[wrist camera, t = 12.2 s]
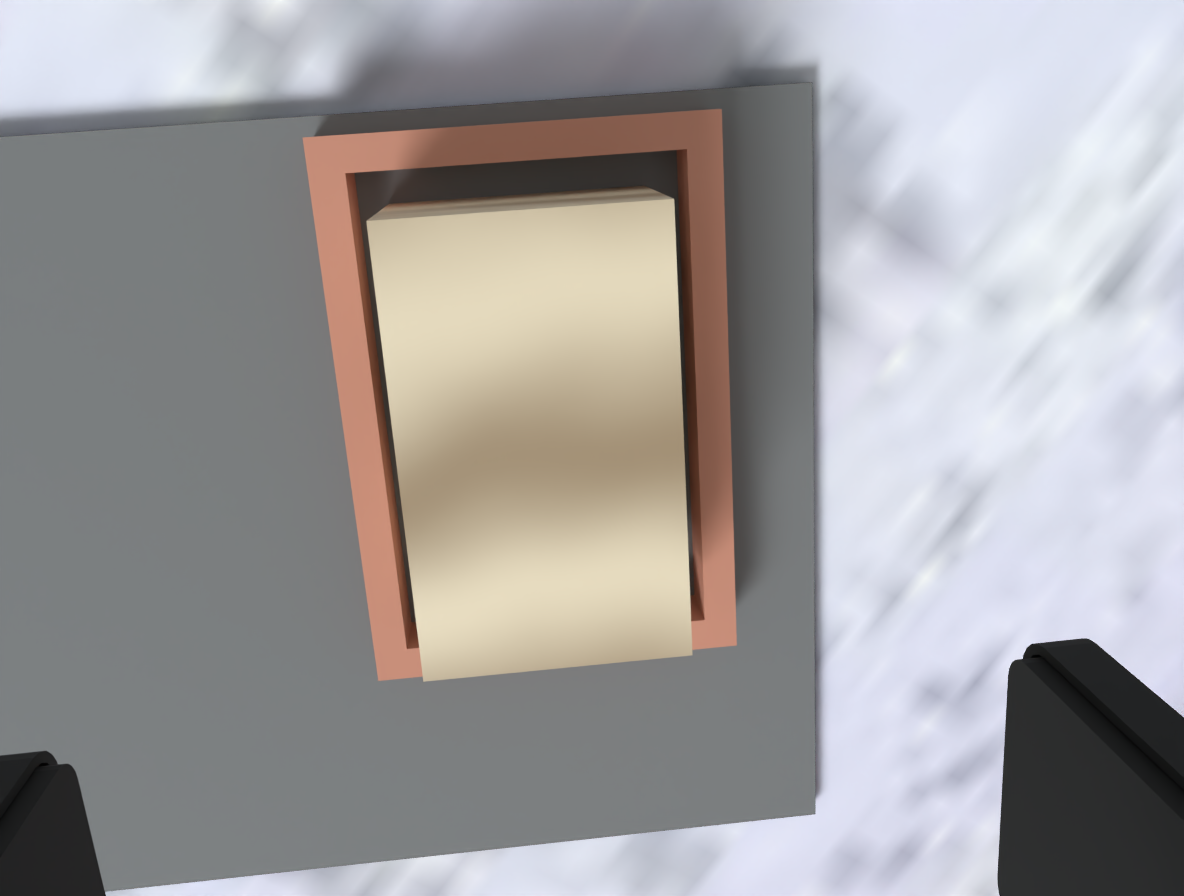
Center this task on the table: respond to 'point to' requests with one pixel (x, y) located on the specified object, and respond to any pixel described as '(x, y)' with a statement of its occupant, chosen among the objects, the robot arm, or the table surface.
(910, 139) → the table surface
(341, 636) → the mat
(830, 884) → the table surface
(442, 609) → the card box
